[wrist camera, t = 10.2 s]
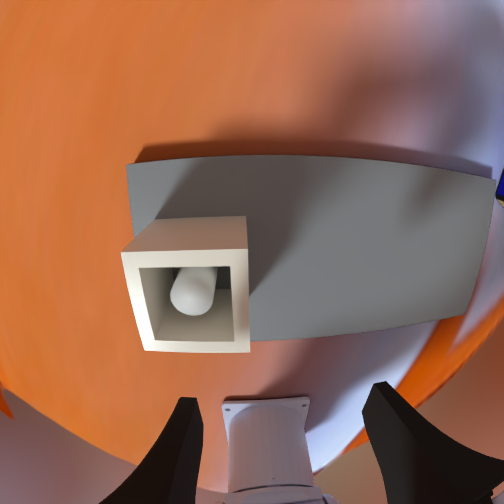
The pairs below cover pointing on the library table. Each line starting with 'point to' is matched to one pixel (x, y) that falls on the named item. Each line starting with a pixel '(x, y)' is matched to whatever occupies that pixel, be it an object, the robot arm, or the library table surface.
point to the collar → (161, 282)
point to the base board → (327, 238)
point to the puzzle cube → (501, 191)
